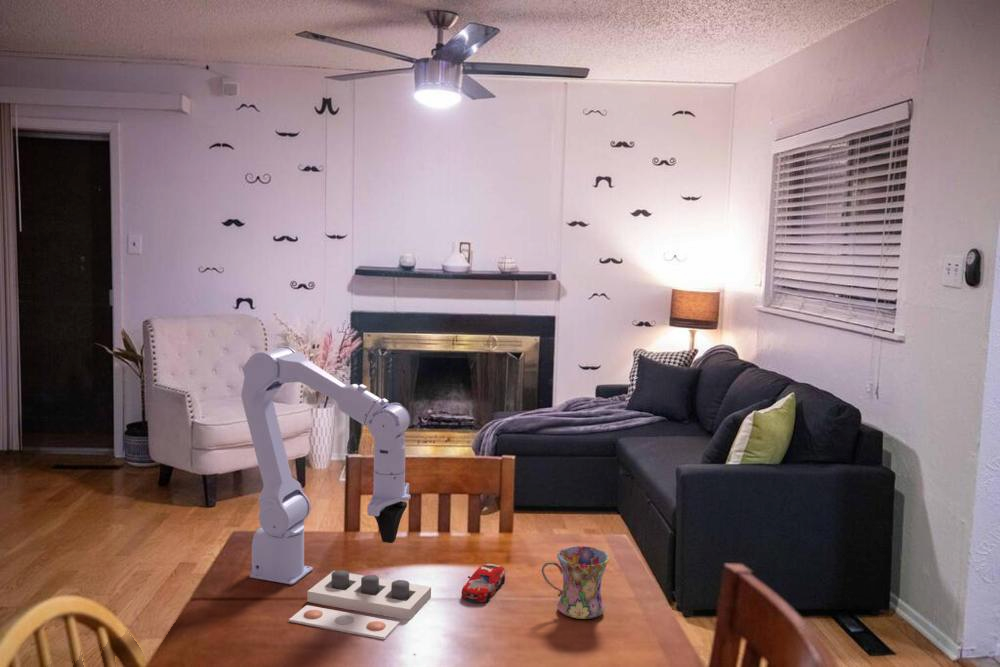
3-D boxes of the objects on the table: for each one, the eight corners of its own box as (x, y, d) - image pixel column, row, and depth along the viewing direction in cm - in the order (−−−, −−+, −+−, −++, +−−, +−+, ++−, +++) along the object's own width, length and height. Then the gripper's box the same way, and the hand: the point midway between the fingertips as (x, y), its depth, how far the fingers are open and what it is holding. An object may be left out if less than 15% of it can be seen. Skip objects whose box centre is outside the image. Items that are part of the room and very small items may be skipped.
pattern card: (288, 621, 152) (288, 618, 152) (306, 607, 158) (306, 603, 158) (384, 639, 147) (384, 636, 147) (399, 624, 153) (399, 620, 152)
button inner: (328, 588, 162) (328, 575, 162) (336, 581, 165) (336, 569, 165) (344, 591, 161) (344, 578, 161) (352, 584, 164) (352, 571, 164)
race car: (484, 608, 161) (484, 587, 160) (456, 602, 163) (457, 581, 162) (509, 580, 173) (510, 561, 172) (484, 575, 175) (484, 556, 174)
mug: (602, 600, 165) (605, 546, 163) (610, 624, 155) (613, 566, 154) (537, 599, 164) (540, 545, 163) (542, 623, 155) (544, 565, 154)
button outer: (388, 599, 159) (388, 585, 158) (395, 592, 162) (395, 579, 162) (404, 601, 158) (405, 588, 158) (411, 594, 161) (412, 581, 161)
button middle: (358, 593, 161) (358, 580, 160) (365, 586, 164) (366, 574, 163) (374, 596, 160) (374, 583, 159) (381, 589, 163) (381, 576, 162)
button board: (307, 601, 160) (307, 591, 160) (333, 580, 170) (333, 570, 169) (409, 620, 154) (409, 609, 154) (430, 597, 164) (431, 586, 163)
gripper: (393, 484, 155) (392, 558, 157) (424, 462, 169) (423, 531, 171) (356, 479, 157) (356, 553, 159) (390, 458, 171) (389, 526, 173)
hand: (388, 541), depth 165 cm, fingers closed
